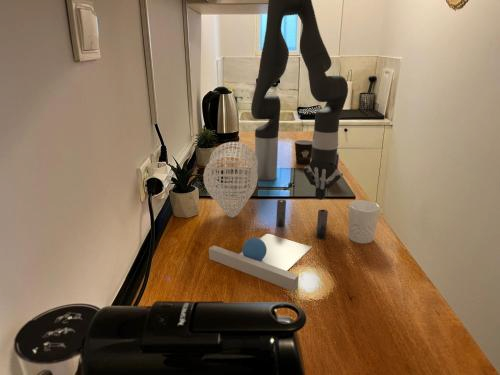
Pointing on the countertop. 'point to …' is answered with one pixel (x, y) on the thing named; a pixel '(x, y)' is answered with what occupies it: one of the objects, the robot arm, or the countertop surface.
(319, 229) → the right post
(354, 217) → the white cup
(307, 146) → the coffee mug
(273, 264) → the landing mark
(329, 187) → the robot arm
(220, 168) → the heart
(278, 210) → the left post
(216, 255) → the stopper wall
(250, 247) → the ball
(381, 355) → the countertop surface
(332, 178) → the energy drink
